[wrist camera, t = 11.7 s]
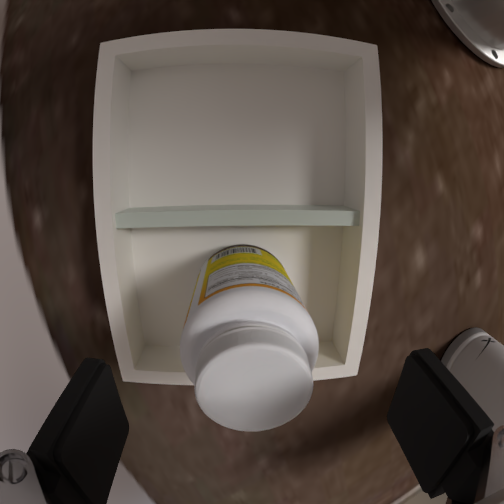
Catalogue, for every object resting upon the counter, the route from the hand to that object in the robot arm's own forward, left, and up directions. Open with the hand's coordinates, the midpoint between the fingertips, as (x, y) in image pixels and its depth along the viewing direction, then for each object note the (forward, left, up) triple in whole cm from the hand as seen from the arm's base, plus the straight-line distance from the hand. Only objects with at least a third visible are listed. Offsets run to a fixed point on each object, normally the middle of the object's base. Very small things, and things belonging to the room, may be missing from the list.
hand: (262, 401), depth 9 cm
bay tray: (-4, 0, -11) cm, 12 cm away
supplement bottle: (0, 0, -11) cm, 11 cm away
